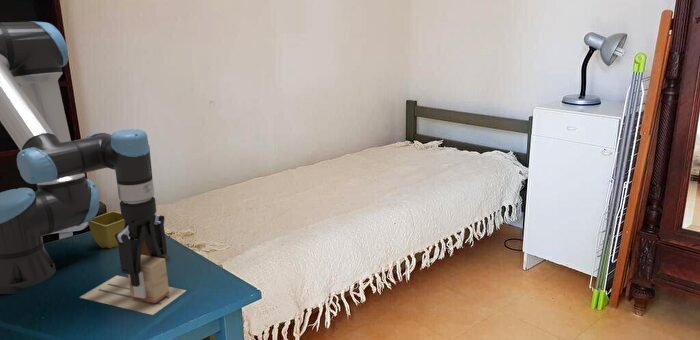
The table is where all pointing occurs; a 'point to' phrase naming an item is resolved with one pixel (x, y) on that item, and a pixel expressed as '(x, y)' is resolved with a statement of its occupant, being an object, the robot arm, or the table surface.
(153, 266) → the block
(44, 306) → the table surface
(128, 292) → the board
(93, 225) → the flower pot
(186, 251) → the table surface
